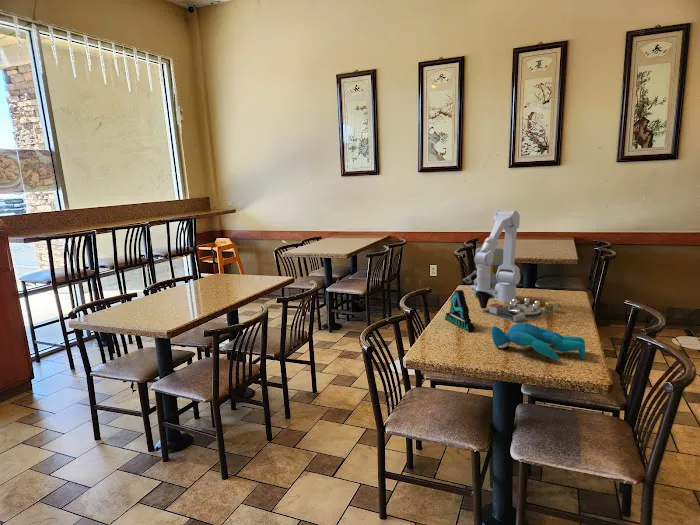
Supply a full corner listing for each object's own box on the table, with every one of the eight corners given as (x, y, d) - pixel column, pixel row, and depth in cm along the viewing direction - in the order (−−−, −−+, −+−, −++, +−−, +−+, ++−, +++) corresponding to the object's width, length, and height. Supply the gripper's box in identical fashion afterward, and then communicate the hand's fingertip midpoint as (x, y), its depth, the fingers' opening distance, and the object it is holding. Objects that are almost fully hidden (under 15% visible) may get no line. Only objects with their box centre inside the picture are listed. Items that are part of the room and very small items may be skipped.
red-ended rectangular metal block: (489, 313, 200) (489, 304, 199) (496, 312, 202) (496, 303, 201) (496, 315, 197) (496, 306, 196) (503, 314, 199) (503, 305, 198)
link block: (544, 311, 203) (545, 302, 202) (550, 309, 205) (551, 300, 204) (552, 313, 199) (553, 304, 199) (558, 311, 201) (558, 302, 201)
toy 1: (513, 293, 235) (513, 235, 230) (517, 297, 227) (518, 237, 222) (461, 294, 238) (461, 237, 233) (464, 298, 230) (463, 239, 224)
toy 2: (582, 350, 161) (494, 338, 173) (585, 321, 159) (495, 311, 171) (584, 371, 144) (486, 356, 156) (588, 339, 142) (488, 326, 154)
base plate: (481, 314, 203) (481, 306, 202) (518, 305, 214) (518, 298, 213) (516, 324, 186) (516, 316, 186) (553, 314, 197) (553, 306, 197)
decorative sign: (474, 331, 181) (474, 295, 178) (468, 332, 180) (468, 295, 177) (450, 319, 199) (449, 285, 196) (444, 319, 198) (444, 286, 195)
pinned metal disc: (500, 310, 204) (500, 301, 203) (522, 304, 211) (522, 296, 210) (526, 317, 192) (526, 308, 191) (548, 311, 199) (549, 302, 198)
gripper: (465, 277, 208) (465, 306, 210) (489, 282, 195) (489, 313, 197) (476, 274, 211) (476, 303, 213) (501, 280, 198) (500, 310, 201)
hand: (483, 307), depth 206 cm, fingers closed
